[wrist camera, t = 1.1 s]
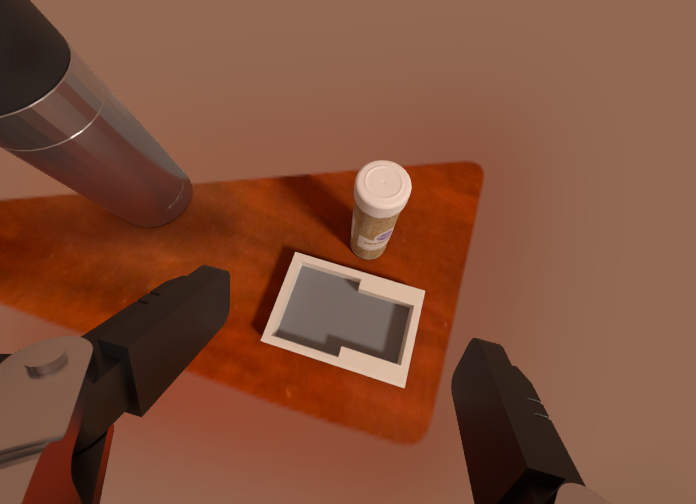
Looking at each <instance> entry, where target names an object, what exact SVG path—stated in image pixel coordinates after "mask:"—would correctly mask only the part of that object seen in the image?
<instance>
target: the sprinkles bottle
mask: <svg viewBox="0 0 696 504" xmlns="http://www.w3.org/2000/svg"><path fill="white" fill-rule="evenodd" d="M410 193H411V180H410V177H409V175H408V174H407V172H406V171H405V170H404V169H403V168H402V167H401V166H399V165H398V164H396V163H394V162H391V161H386V160H379V161H373V162H370V163H368V164H366V165H365V166H364V167H362V168H361V170H360V171H359V172H358V174H357V176H356V180H355V186H354V198H355V205H354V209H353V218H352V229H351V238H350V246H351V249H352V251H353V253H354V254H355V255H357V256H358V257H360V258H362V259H367V260H369V259H374V258H377V257H379V256H380V255H381V254H382V253H383V252H384V250H385V248H386V243H387V242H388V240H389V238H390V236H391V233H392V231H393V229H394V225H395V223H396V220H397V218H398V216H399V213H400V211H401V210H402V209H403V208H404V206H405V205H406V203H407V200H408V198H409V195H410Z"/></svg>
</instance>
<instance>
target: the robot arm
mask: <svg viewBox="0 0 696 504" xmlns="http://www.w3.org/2000/svg"><path fill="white" fill-rule="evenodd" d="M0 147H1V148H3V149H5V150H6V151H8V152H10V153H12V154H13V155H15V156H16V157H18V158H20V159H22V160H23V161H25V162H27V163H29V164H30V165H32V166H33V167H35V168H37V169H39V170H40V171H42V172H44V173H45V174H47V175H49V176H50V177H52V178H54V179H56V180H57V181H59V182H61V183H62V184H64V185H66V186H67V187H69V188H71V189H72V190H74V191H76V192H78V193H79V194H81V195H83V196H84V197H86V198H88V199H89V200H91V201H93V202H94V203H96V204H98V205H100V206H101V207H103V208H104V209H106V210H108V211H110V212H111V213H113V214H115V215H116V216H118V217H120V218H122V219H123V220H125V221H127V222H128V223H130V224H132V225H135V226H138V227H144V228H151V227H158V226H161V225H164V224H166V223H169V222H171V221H172V220H174V219H175V218H177V217H178V216H179V215H180V214H181V213H182V212H183V211H184V210H185V208H186V207H187V205H188V204H189V201H190V199H191V195H192V185H191V182H190V180H189V178H188V176H187V175H186V174H185V173H184V172H183V171H182V169H181V168H180V167H179V166H178V165H177V164H176V163H175V161H174V160H173V159H172V158H171V157H170V156H169V155H168V153H167V152H166V151H165V150H164V149H163V148H162V147H161V146H160V144H159V143H158V142H157V141H156V140H155V139H154V138H153V137H152V136H151V134H150V133H149V132H148V131H147V130H146V129H145V128H144V127H143V126H142V124H141V123H140V122H139V121H138V120H137V119H136V118H135V117H134V115H132V113H131V112H130V111H129V110H128V109H127V108H126V107H125V105H124V104H123V103H122V102H121V101H120V100H119V99H118V98H117V96H116V95H115V94H114V93H113V92H112V91H111V90H110V89H109V88H108V87H107V85H106V84H105V83H104V82H103V81H102V80H101V79H100V78H99V76H98V75H97V74H96V73H95V72H94V71H93V70H92V69H91V68H90V67H89V65H88V64H86V62H85V61H84V60H83V59H82V58H81V56H80V55H79V54H78V53H77V52H76V51H75V50H74V49H73V48H72V46H71V45H70V44H69V43H68V42H67V41H66V40H65V39H64V37H63V36H62V35H61V34H60V33H59V32H58V30H57V29H56V28H55V27H54V26H53V25H52V24H51V23H50V22H49V21H48V20H47V18H46V17H45V16H44V15H43V14H42V13H41V12H40V11H39V10H38V9H37V8H36V6H35V5H34V4H33V3H32V2H31V1H30V0H0ZM229 308H230V274H229V272H228V271H225V270H222V269H218V268H214V267H210V266H207V265H203V266H201V267H199V268H198V269H196V270H195V271H194V272H192V273H191V274H189V275H188V276H184V275H183V276H181V277H178V278H175V279H172V280H169V281H166V282H164V283H163V284H161V285H160V286H158V287H157V288H155V289H154V290H152V291H151V292H150V294H148V293H147V294H146V295H144V296H143V297H141V298H140V299H138V301H137V302H134V303H132V304H131V305H129V306H128V307H126V308H125V309H123V310H122V311H120V312H118V313H117V314H115V315H114V316H112V317H111V318H109V319H108V320H106V321H105V322H103V323H102V324H100V325H99V326H97V327H96V328H94V329H93V330H91V331H89V332H88V333H86V334H85V335H83V336H82V337H75V336H64V337H56V338H50V339H47V340H43V341H40V342H37V343H34V344H32V345H29V346H27V347H25V348H23V349H21V350H19V351H17V352H15V353H14V354H0V504H100V499H101V495H102V489H103V484H104V479H105V474H106V469H107V464H108V458H109V454H110V448H111V443H112V438H113V433H114V422H115V421H116V420H117V419H118V418H119V417H120V416H121V415H122V414H123V413H124V412H127V413H130V414H133V415H136V416H140V417H142V416H143V415H144V414H145V413H146V412H147V411H148V410H149V409H150V407H151V406H152V405H153V404H154V403H155V402H156V400H158V398H159V397H160V396H161V395H162V394H163V393H164V392H165V391H166V389H167V388H168V387H169V386H170V385H171V384H172V383H173V381H174V380H175V379H176V378H177V377H178V376H179V375H180V374H181V373H182V371H183V370H184V369H185V368H186V367H187V366H188V365H189V364H190V362H191V361H192V360H193V359H194V358H195V357H196V356H197V355H198V353H199V352H200V351H201V350H202V349H203V348H204V347H205V346H206V344H207V343H208V342H209V341H210V340H211V339H212V338H213V337H214V335H215V334H216V333H217V332H218V331H219V330H220V329H221V328H222V326H223V325H224V323H225V322H226V319H227V317H228V314H229ZM451 387H452V388H451V389H452V396H453V401H454V406H455V411H456V416H457V421H458V425H459V430H460V435H461V440H462V445H463V450H464V455H465V460H466V464H467V469H468V474H469V479H470V484H471V489H472V493H473V499H474V503H475V504H610V503H609V502H608V501H607V500H605V499H604V498H603V497H601V496H600V495H599V494H597V493H596V492H594V491H592V490H591V489H589V488H587V487H586V486H585V484H584V482H583V480H582V479H581V477H580V475H579V473H578V471H577V469H576V467H575V465H574V463H573V461H572V460H571V458H570V456H569V454H568V452H567V450H566V448H565V446H564V444H563V442H562V441H561V438H560V437H559V435H558V433H557V431H556V429H555V427H554V425H553V423H552V421H551V420H549V419H548V417H549V416H548V414H547V412H546V410H545V408H544V406H543V405H542V404H541V403H540V402H541V400H540V399H539V397H538V395H537V393H536V391H535V389H534V387H533V385H532V383H531V382H530V381H529V380H528V379H527V378H526V377H525V375H524V374H523V373H522V372H521V371H520V370H519V369H518V368H517V367H516V366H512V365H511V363H510V361H509V359H508V357H507V355H506V352H505V351H504V348H503V347H502V346H501V345H500V344H496V343H492V342H489V341H485V340H481V339H477V338H473V339H472V340H471V341H470V342H469V344H468V346H467V348H466V350H465V352H464V354H463V356H462V358H461V360H460V362H459V363H458V365H457V367H456V369H455V372H454V374H453V378H452V385H451Z"/></svg>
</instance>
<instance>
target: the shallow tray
mask: <svg viewBox="0 0 696 504" xmlns="http://www.w3.org/2000/svg"><path fill="white" fill-rule="evenodd" d="M424 294H425V291H424V290H420V289H417V288H414V287H410V286H407V285H404V284H400V283H397V282H394V281H390V280H387V279H384V278H380V277H377V276H374V275H370V274H367V273H364V272H361V271H357V270H354V269H351V268H347V267H344V266H341V265H337V264H334V263H331V262H327V261H324V260H321V259H317V258H314V257H311V256H307V255H304V254H301V253H297V252H295V254H294V257H293V259H292V262H291V264H290V267H289V270H288V272H287V275H286V277H285V280H284V282H283V285H282V287H281V290H280V292H279V295H278V298H277V300H276V303H275V305H274V308H273V310H272V313H271V315H270V318H269V321H268V323H267V326H266V328H265V331H264V333H263V336H262V338H261V341H262V342H265V343H269V344H272V345H275V346H278V347H281V348H284V349H287V350H290V351H293V352H296V353H299V354H302V355H305V356H308V357H311V358H314V359H317V360H320V361H323V362H326V363H329V364H332V365H335V366H338V367H341V368H344V369H347V370H350V371H354V372H357V373H360V374H363V375H366V376H369V377H372V378H375V379H378V380H381V381H384V382H387V383H390V384H393V385H396V386H399V387H402V388H405V383H406V378H407V374H408V369H409V364H410V360H411V355H412V350H413V346H414V341H415V336H416V332H417V327H418V322H419V317H420V313H421V308H422V303H423V299H424Z"/></svg>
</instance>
